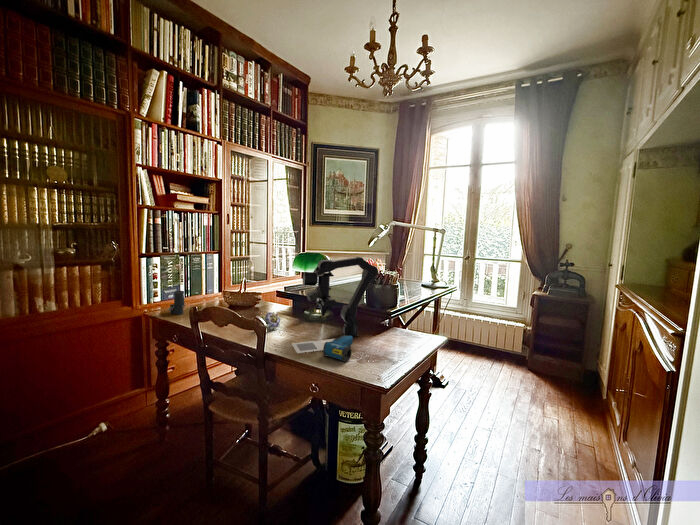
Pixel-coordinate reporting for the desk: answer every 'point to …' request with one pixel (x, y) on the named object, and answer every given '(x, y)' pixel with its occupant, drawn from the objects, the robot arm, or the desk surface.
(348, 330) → the robot arm
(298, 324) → the desk surface
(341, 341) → the infrared thermometer
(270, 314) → the passion flower
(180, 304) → the scope
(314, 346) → the label panel
